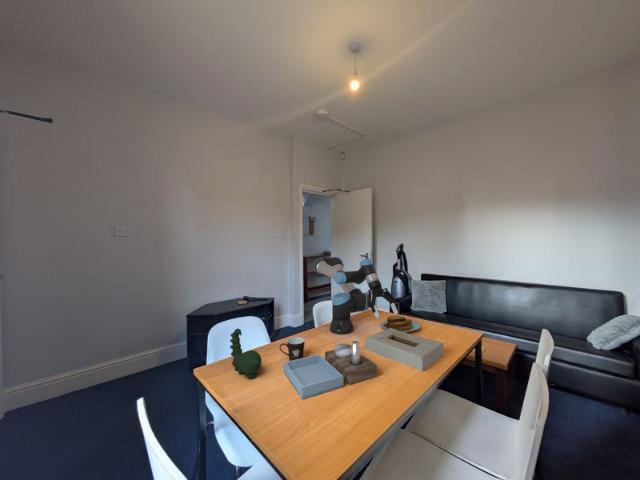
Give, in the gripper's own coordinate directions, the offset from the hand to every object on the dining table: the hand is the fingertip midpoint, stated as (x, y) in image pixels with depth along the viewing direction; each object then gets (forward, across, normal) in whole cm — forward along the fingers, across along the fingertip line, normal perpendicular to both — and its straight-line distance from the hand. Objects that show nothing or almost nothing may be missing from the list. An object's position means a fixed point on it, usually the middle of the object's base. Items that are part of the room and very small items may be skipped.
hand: (387, 315), depth 149 cm
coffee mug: (+10, -55, +13) cm, 58 cm away
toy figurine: (+10, -79, +13) cm, 80 cm away
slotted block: (+21, -1, -2) cm, 21 cm away
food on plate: (+4, +24, +21) cm, 32 cm away
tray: (+21, -54, -3) cm, 58 cm away
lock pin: (+24, -35, -7) cm, 43 cm away
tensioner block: (+21, -35, -3) cm, 41 cm away
